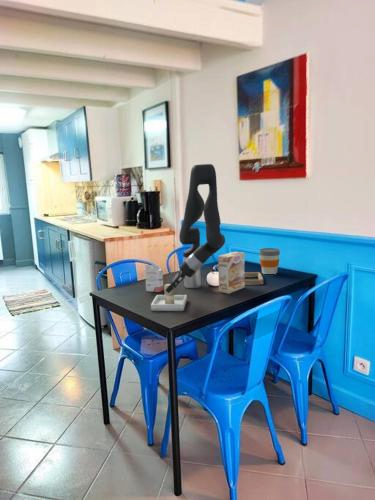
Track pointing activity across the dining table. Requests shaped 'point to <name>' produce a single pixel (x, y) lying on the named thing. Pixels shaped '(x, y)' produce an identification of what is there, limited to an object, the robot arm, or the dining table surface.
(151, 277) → the ink cartridge box
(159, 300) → the tray
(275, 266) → the reusable coffee cup
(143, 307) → the dining table surface
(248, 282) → the frame
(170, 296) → the gauge plug
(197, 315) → the dining table surface
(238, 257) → the coffeecake box
